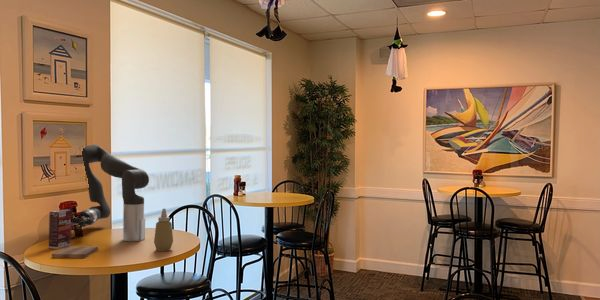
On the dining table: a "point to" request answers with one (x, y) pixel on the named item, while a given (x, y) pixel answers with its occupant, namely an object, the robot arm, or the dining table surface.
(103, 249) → the dining table surface
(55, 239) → the supplement box
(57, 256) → the walnut board
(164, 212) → the squeeze bottle
